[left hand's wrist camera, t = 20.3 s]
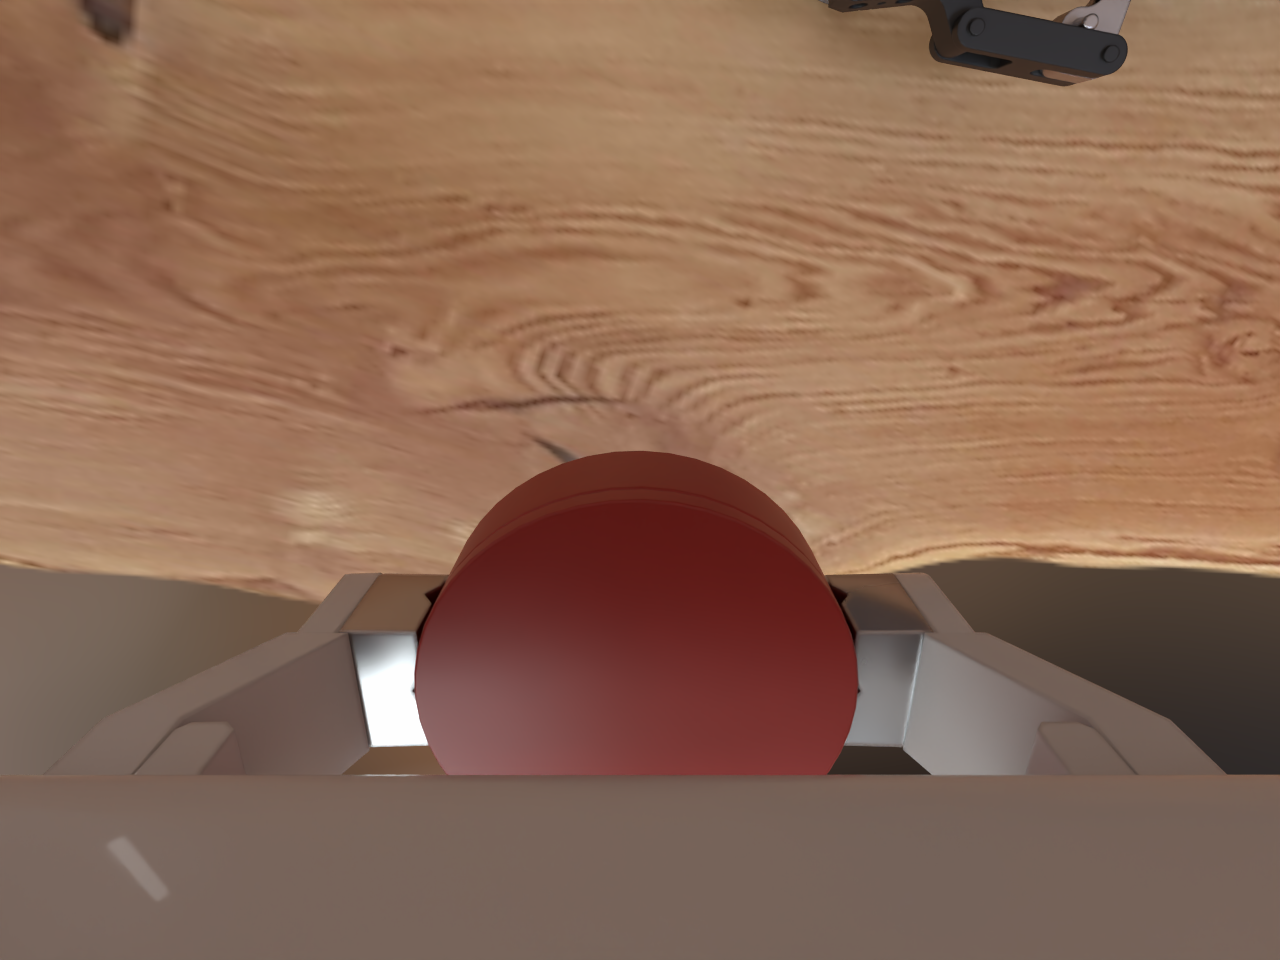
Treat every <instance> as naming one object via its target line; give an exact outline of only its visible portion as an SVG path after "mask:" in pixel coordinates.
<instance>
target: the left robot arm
mask: <svg viewBox="0 0 1280 960" xmlns="http://www.w3.org/2000/svg"><path fill="white" fill-rule="evenodd" d="M448 576H449V575H438V574H382V573H353V574H346V575H344V576H343V577H342V579H341V580H340V581H339V582H338V583H337V585H336V586H335V587H334V588H333V590H332V591H331V592H330V593H329V594H328V596H327V597H326V598H325V599H324V601H323V602H322V603H321V604H320V605H319V607H318V608H317V609H316V610H315V612H314V613H313V614H312V615H311V616H310V618H309V619H308V620H307V621H306V622H305V624H304V625H303V626H302V627H301V629H300V630H299V631H298V632H297V633H284V634H282V635H280V636H278V637H276V638H274V639H272V640H269V641H267V642H265V643H263V644H261V645H259V646H257V647H254V648H252V649H250V650H248V651H246V652H244V653H242V654H240V655H237V656H235V657H233V658H231V659H229V660H227V661H225V662H223V663H220V664H218V665H216V666H214V667H212V668H210V669H207V670H205V671H203V672H201V673H199V674H197V675H195V676H193V677H190V678H188V679H186V680H184V681H182V682H180V683H178V684H175V685H173V686H171V687H169V688H167V689H165V690H163V691H160V692H158V693H156V694H154V695H152V696H150V697H148V698H146V699H143V700H141V701H139V702H137V703H135V704H133V705H131V706H128V707H126V708H124V709H122V710H120V711H118V712H116V713H114V714H111V715H109V716H107V717H105V718H103V719H101V720H100V721H99V722H98V723H97V724H96V725H95V726H94V727H93V728H92V729H91V730H90V731H89V732H87V733H86V734H85V735H84V736H83V737H82V738H81V739H80V740H79V741H78V742H77V743H76V744H75V745H74V746H73V747H72V748H70V749H69V750H68V751H67V752H66V753H65V754H64V755H63V756H62V757H61V758H60V759H59V760H58V761H57V762H56V763H55V764H54V765H53V766H51V767H50V768H49V769H48V770H47V771H46V772H45V773H44V774H43V775H0V960H1280V775H1227V774H1226V773H1225V772H1224V771H1223V770H1222V769H1221V768H1219V767H1218V766H1217V765H1216V764H1215V763H1214V762H1213V761H1212V760H1211V759H1210V758H1209V757H1208V756H1207V755H1206V754H1205V753H1204V752H1203V751H1202V750H1201V749H1200V748H1199V747H1198V746H1197V745H1196V744H1195V743H1194V742H1193V741H1192V740H1190V739H1189V738H1188V737H1187V736H1186V735H1185V734H1184V733H1183V732H1182V731H1181V730H1180V729H1179V728H1178V727H1177V726H1176V725H1175V724H1174V723H1173V722H1172V721H1171V720H1169V719H1167V718H1165V717H1163V716H1161V715H1159V714H1157V713H1155V712H1153V711H1150V710H1148V709H1146V708H1144V707H1142V706H1140V705H1138V704H1136V703H1134V702H1131V701H1129V700H1127V699H1125V698H1123V697H1121V696H1119V695H1117V694H1114V693H1112V692H1110V691H1108V690H1106V689H1104V688H1102V687H1100V686H1098V685H1096V684H1093V683H1091V682H1089V681H1087V680H1085V679H1083V678H1081V677H1079V676H1076V675H1074V674H1072V673H1070V672H1068V671H1066V670H1064V669H1062V668H1060V667H1058V666H1055V665H1053V664H1051V663H1049V662H1047V661H1045V660H1043V659H1041V658H1039V657H1036V656H1034V655H1032V654H1030V653H1028V652H1026V651H1024V650H1022V649H1020V648H1018V647H1015V646H1013V645H1011V644H1009V643H1007V642H1005V641H1003V640H1001V639H998V638H996V637H994V636H992V635H990V634H988V633H975V632H974V630H973V629H972V628H971V627H970V626H969V624H968V623H967V622H966V621H965V619H964V618H963V617H962V616H961V614H960V613H959V612H958V611H957V609H956V608H955V607H954V606H953V604H952V603H951V602H950V601H949V599H948V598H947V597H946V596H945V594H944V593H943V592H942V591H941V590H940V588H939V587H938V586H937V585H936V583H935V582H934V581H933V580H932V578H931V577H930V576H929V575H927V574H925V573H903V574H893V573H891V574H850V575H825V578H826V580H827V582H828V584H829V586H830V588H831V590H832V592H833V594H834V596H835V598H836V600H837V602H838V604H839V606H840V608H841V610H842V612H843V615H844V617H845V620H846V622H847V625H848V627H849V629H850V632H851V634H852V639H853V643H854V647H855V652H856V656H857V665H858V680H859V684H858V694H857V704H856V710H855V714H854V717H853V721H852V725H851V729H850V732H849V734H848V737H847V739H846V741H845V744H844V745H851V746H888V747H904V748H903V750H904V751H905V752H907V753H908V754H909V755H910V756H911V757H912V758H914V759H915V760H916V761H917V762H918V763H919V764H921V765H922V766H923V767H924V768H925V769H926V770H927V771H929V772H930V773H931V774H932V775H341V774H342V773H343V772H344V771H346V770H347V769H348V768H349V767H350V766H351V765H353V764H354V763H355V762H356V761H357V760H359V759H360V758H361V757H362V756H363V755H364V754H366V753H367V752H368V751H369V747H384V746H420V745H428V743H427V740H426V737H425V734H424V732H423V729H422V726H421V723H420V720H419V715H418V710H417V705H416V700H415V685H414V669H415V661H416V654H417V647H418V644H419V641H420V637H421V634H422V631H423V627H424V624H425V622H426V620H427V618H428V616H429V614H430V612H431V610H432V608H433V606H434V604H435V601H436V600H437V598H438V596H439V594H440V592H441V590H442V588H443V586H444V584H445V582H446V580H447V578H448Z"/></svg>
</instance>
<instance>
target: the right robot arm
mask: <svg viewBox="0 0 1280 960" xmlns="http://www.w3.org/2000/svg"><path fill="white" fill-rule="evenodd" d="M1130 1H1131V0H1090V1H1089V3H1088V4H1087V5H1086V6H1085V7H1077V8H1075V9H1073V10H1070V11H1068V12H1066V13H1064V14H1062V15H1060V16H1058V17H1056V18H1055V19H1054V20H1053V21H1050V20H1045V19H1040V18H1035V17H1030V16H1025V15H1020V14H1015V13H1010V12H1005V11H1000V10H995V9H990V8H985V7H983V3H982V0H829V2H828V7H829V8H832V9H835V10H837V11H840V12H850V11H858V10H868V9H877V8H887V7H896V6H905V5H914V6H917V7H919V8H921V9H922V10H923V11H924V12H925V13H926V15H927V17H928V20H929V24H930V27H931V31H932V37H931V39H930V43H929V50H930V54H931V56H932V57H933V58H934V59H935V60H936V61H938V62H941V63H947V64H952V65H957V66H962V67H967V68H972V69H977V70H982V71H987V72H992V73H997V74H1003V75H1008V76H1013V77H1018V78H1023V79H1028V80H1033V81H1038V82H1043V83H1048V84H1053V85H1059V86H1069V85H1073V84H1076V83H1081V82H1085V81H1088V80H1092V79H1095V78H1099V77H1101V76H1105V75H1108V74H1111V73H1114V72H1115V71H1117V70H1118V69H1119V68H1120V67H1121V66H1122V64H1123V63H1124V61H1125V59H1126V56H1127V50H1128V49H1127V43H1126V41H1125V39H1124V38H1123V37H1122V36H1120V35H1118V34H1119V31H1120V29H1121V26H1122V23H1123V20H1124V18H1125V15H1126V12H1127V9H1128V7H1129V4H1130Z"/></svg>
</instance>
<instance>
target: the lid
mask: <svg viewBox="0 0 1280 960" xmlns="http://www.w3.org/2000/svg"><path fill="white" fill-rule="evenodd" d="M858 684H859V680H858V665H857V656H856V652H855V647H854V643H853V639H852V634H851V632H850V629H849V627H848V625H847V622H846V620H845V617H844V615H843V612H842V610H841V608H840V606H839V604H838V602H837V600H836V598H835V596H834V594H833V592H832V590H831V588H830V586H829V584H828V582H827V580H826V578H825V576H824V574H823V572H822V570H821V568H820V566H819V564H818V562H817V560H816V558H815V556H814V554H813V552H812V550H811V548H810V547H809V545H808V544H807V542H806V540H805V539H804V537H803V535H802V534H801V532H800V530H799V529H798V527H797V526H796V525H795V524H794V523H793V521H792V520H791V519H790V518H789V517H788V515H787V514H786V513H785V512H784V510H782V509H781V508H780V507H779V506H778V505H777V504H776V503H775V502H774V501H773V500H771V499H770V498H769V497H768V496H767V495H766V494H765V493H763V492H762V491H760V490H759V489H757V488H756V487H755V486H753V485H752V484H750V483H749V482H747V481H746V480H744V479H742V478H740V477H738V476H736V475H734V474H732V473H730V472H728V471H726V470H724V469H722V468H720V467H717V466H715V465H712V464H709V463H706V462H703V461H700V460H698V459H694V458H689V457H685V456H680V455H675V454H671V453H661V452H650V451H625V452H611V453H605V454H598V455H592V456H587V457H584V458H580V459H577V460H573V461H570V462H567V463H563V464H561V465H558V466H556V467H554V468H551V469H549V470H547V471H545V472H542V473H540V474H538V475H536V476H535V477H533V478H531V479H530V480H528V481H526V482H525V483H523V484H521V485H520V486H518V487H517V488H515V489H514V490H513V491H512V492H510V493H509V494H508V495H507V496H505V497H504V498H503V499H502V500H500V501H499V502H498V503H497V504H496V505H495V506H494V507H493V508H492V509H491V510H490V511H489V512H488V514H487V515H486V516H485V517H484V518H483V519H482V520H481V521H480V523H479V524H478V525H477V527H476V528H475V530H474V531H473V533H472V534H471V536H470V537H469V539H468V540H467V542H466V544H465V546H464V548H463V550H462V551H461V553H460V555H459V557H458V559H457V561H456V563H455V565H454V567H453V569H452V571H451V573H450V575H449V576H448V578H447V580H446V582H445V584H444V586H443V588H442V590H441V592H440V594H439V596H438V598H437V600H436V601H435V604H434V606H433V608H432V610H431V612H430V614H429V616H428V618H427V620H426V622H425V624H424V627H423V631H422V634H421V637H420V641H419V644H418V647H417V654H416V661H415V669H414V685H415V700H416V705H417V710H418V715H419V720H420V723H421V726H422V729H423V732H424V734H425V737H426V740H427V743H428V745H429V747H430V748H431V750H432V752H433V754H434V756H435V758H436V760H437V761H438V763H439V765H440V766H441V768H442V769H443V770H444V772H445V773H446V774H447V775H827V773H828V772H829V771H830V769H831V767H832V766H833V764H834V762H835V761H836V759H837V757H838V756H839V754H840V753H841V751H842V748H843V746H844V744H845V741H846V739H847V737H848V734H849V732H850V729H851V725H852V721H853V717H854V714H855V710H856V704H857V694H858Z"/></svg>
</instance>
